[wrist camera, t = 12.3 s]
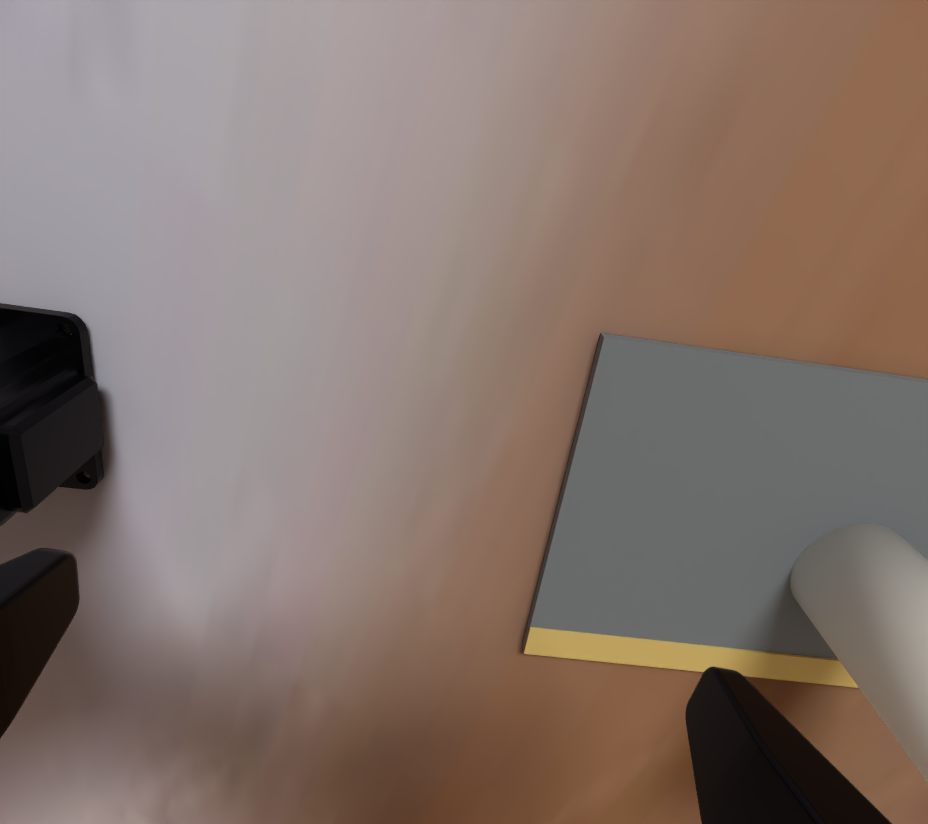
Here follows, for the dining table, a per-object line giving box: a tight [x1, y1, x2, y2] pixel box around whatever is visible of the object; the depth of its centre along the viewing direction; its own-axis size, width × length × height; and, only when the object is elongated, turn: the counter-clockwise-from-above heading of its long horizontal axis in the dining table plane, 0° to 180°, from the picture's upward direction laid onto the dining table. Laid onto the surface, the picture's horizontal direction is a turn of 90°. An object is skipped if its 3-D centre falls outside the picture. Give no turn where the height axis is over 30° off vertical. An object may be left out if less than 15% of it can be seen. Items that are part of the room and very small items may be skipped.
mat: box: [523, 333, 928, 688], centre depth 23 cm, size 18×14×1 cm
